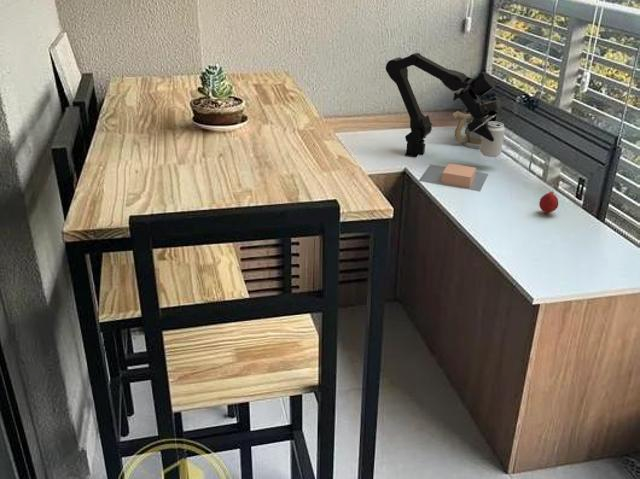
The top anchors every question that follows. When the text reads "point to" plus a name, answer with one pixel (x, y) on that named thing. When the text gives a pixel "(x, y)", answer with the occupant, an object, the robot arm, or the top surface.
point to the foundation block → (458, 175)
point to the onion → (548, 202)
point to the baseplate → (435, 177)
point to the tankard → (467, 132)
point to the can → (495, 146)
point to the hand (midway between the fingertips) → (496, 138)
